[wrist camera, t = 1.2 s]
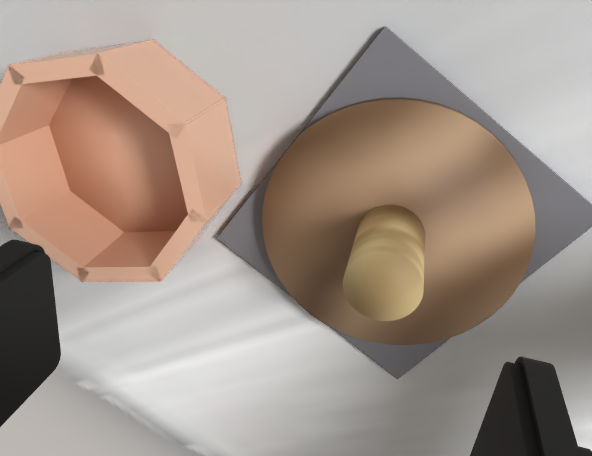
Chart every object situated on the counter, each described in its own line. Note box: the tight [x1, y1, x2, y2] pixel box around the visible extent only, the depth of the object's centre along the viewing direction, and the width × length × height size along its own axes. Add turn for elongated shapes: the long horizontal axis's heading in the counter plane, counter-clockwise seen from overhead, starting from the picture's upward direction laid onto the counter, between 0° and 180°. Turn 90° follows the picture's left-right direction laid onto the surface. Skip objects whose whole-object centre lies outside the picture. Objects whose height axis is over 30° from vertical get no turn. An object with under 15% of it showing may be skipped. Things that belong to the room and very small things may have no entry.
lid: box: [262, 97, 536, 345], centre depth 30 cm, size 16×16×7 cm
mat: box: [217, 26, 592, 379], centre depth 33 cm, size 16×17×1 cm
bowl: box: [0, 40, 241, 282], centre depth 33 cm, size 13×13×6 cm
